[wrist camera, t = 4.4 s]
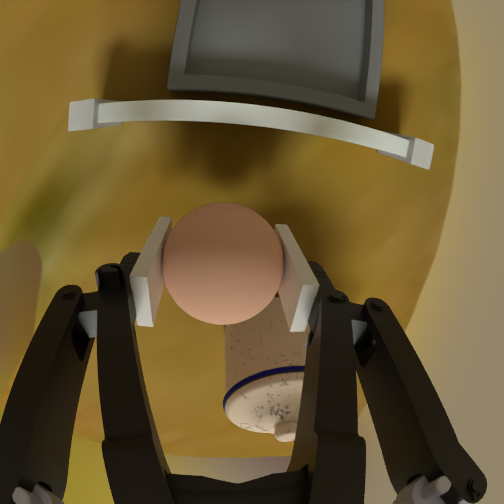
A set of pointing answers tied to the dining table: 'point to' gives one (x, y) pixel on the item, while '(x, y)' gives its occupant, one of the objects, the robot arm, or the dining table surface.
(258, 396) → the teacup with lid
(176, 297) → the ball
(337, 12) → the tray
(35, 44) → the dining table surface
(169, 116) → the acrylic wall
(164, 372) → the dining table surface
